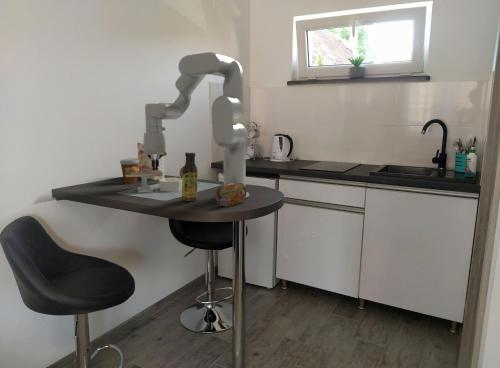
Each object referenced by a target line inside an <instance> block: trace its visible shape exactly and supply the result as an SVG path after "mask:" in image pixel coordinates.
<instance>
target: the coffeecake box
mask: <svg viewBox="0 0 500 368" xmlns="http://www.w3.org/2000/svg"><path fill="white" fill-rule="evenodd" d="M143 144H144V141H143V142H142V141H140V142H137V159H138V161H139V163H138V171H152V168H153V167H152V161H151V159H150V158H149V157H146V156H143V153H144V147H143ZM149 155H150V154H149ZM156 156H157V154H153V157H154V160H156ZM155 168H156V167H155ZM158 170H161V172H162V174H163V176H147V180H153V181H155V180H156V181H159V179H163V178H165V156H162V157H161V158H160V159H159V167H158Z"/></svg>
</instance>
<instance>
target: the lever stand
mask: <svg viewBox="0 0 500 368" xmlns="http://www.w3.org/2000/svg"><path fill="white" fill-rule="evenodd" d="M140 179H141V180H140V181H141V186H137V187H136V188H137V192H138V194H141V193H142V194H143V193H153V188H152V187H151V186H150V185H149V186H148V178H147V174H142V177H140Z"/></svg>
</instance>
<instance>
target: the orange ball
mask: <svg viewBox="0 0 500 368" xmlns="http://www.w3.org/2000/svg"><path fill="white" fill-rule="evenodd" d="M137 171H139V169H138V170H137V168H136V167H131V172H137Z"/></svg>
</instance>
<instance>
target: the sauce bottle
mask: <svg viewBox="0 0 500 368" xmlns="http://www.w3.org/2000/svg"><path fill="white" fill-rule="evenodd" d="M184 156H185V163H184V165H183V166H184V167H183V166H182V167H183V175H182V190H181V198H182V199H181V200H182V202H183V201H184V202H194V201H195V202H196V201H197V198H198V183H199V182H198V177H199V172H198V173H197V170H198V167H197V165H196V152H193V151H187V152H186V151H185V154H184Z"/></svg>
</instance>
